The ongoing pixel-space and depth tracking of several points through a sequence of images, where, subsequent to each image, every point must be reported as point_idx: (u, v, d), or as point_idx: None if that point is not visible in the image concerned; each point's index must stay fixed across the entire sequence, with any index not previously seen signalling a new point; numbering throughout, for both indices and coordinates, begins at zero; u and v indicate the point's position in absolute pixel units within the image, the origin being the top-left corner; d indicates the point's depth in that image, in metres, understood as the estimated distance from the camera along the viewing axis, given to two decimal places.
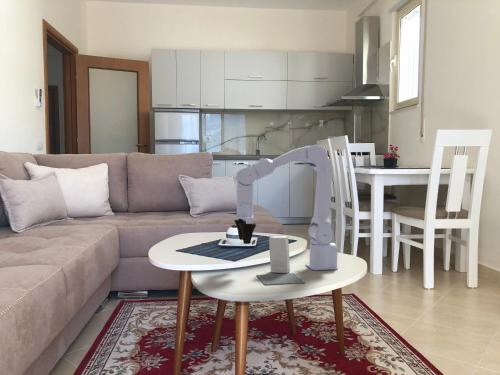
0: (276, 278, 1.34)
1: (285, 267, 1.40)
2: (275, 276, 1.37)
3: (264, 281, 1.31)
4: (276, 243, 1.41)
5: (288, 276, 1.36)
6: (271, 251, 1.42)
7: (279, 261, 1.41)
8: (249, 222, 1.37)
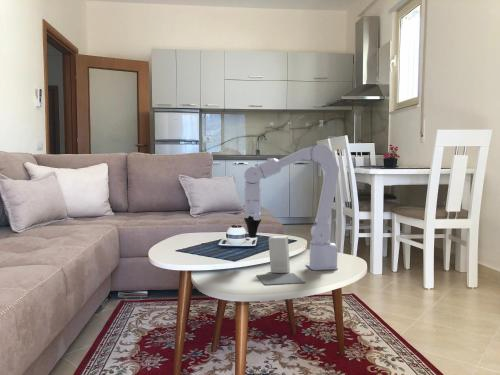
0: (276, 278, 1.34)
1: (285, 267, 1.40)
2: (275, 276, 1.37)
3: (264, 281, 1.31)
4: (276, 243, 1.41)
5: (288, 276, 1.36)
6: (271, 251, 1.42)
7: (279, 261, 1.41)
8: (257, 218, 1.44)
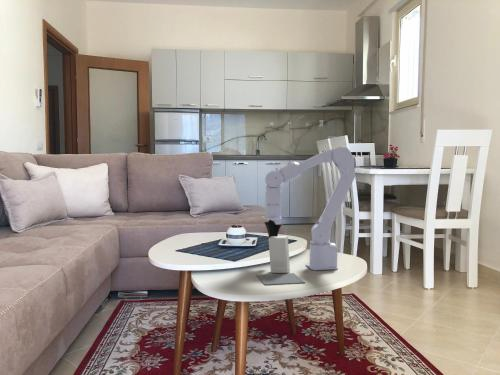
0: (276, 278, 1.34)
1: (285, 267, 1.40)
2: (275, 276, 1.37)
3: (264, 281, 1.31)
4: (276, 243, 1.41)
5: (288, 276, 1.36)
6: (271, 251, 1.42)
7: (279, 261, 1.41)
8: (279, 222, 1.45)
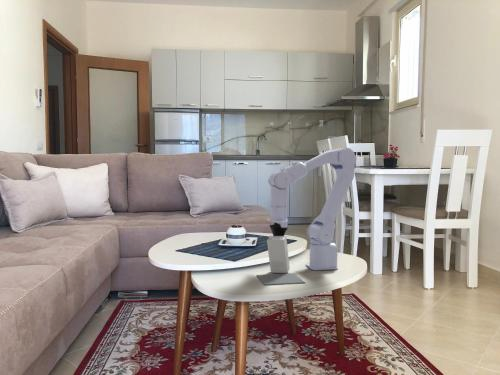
0: (276, 278, 1.34)
1: (285, 267, 1.40)
2: (275, 276, 1.37)
3: (264, 281, 1.31)
4: (274, 245, 1.39)
5: (288, 276, 1.36)
6: (270, 252, 1.40)
7: (279, 262, 1.40)
8: (285, 225, 1.38)
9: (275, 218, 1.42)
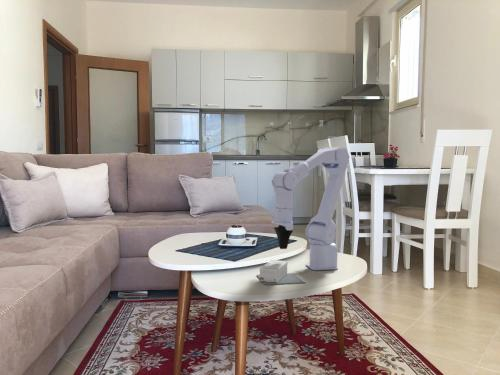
0: None
1: None
2: None
3: (264, 281, 1.31)
4: None
5: (288, 276, 1.36)
6: None
7: None
8: (290, 228, 1.32)
9: (280, 220, 1.36)
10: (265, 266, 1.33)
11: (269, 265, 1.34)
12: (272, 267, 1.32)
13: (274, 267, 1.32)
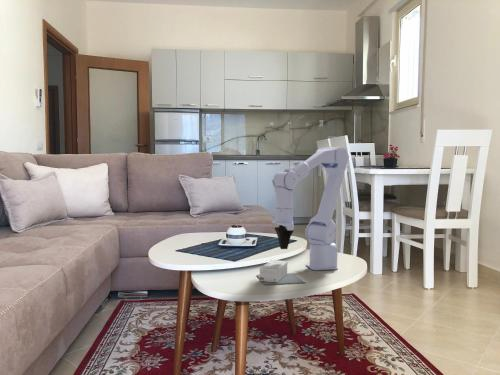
0: None
1: None
2: None
3: (264, 281, 1.31)
4: None
5: (288, 276, 1.36)
6: None
7: None
8: (291, 228, 1.31)
9: (280, 220, 1.36)
10: (265, 266, 1.33)
11: (269, 265, 1.34)
12: (272, 267, 1.32)
13: (274, 267, 1.32)
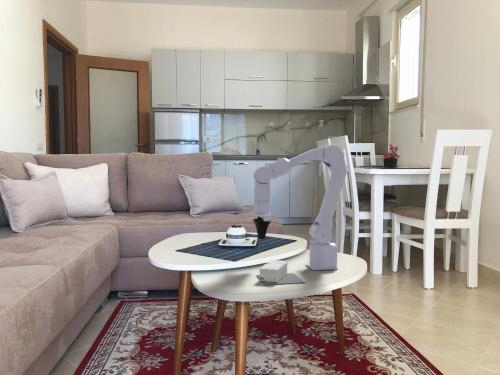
0: None
1: None
2: None
3: (264, 281, 1.31)
4: None
5: (288, 276, 1.36)
6: None
7: None
8: (267, 219, 1.41)
9: (258, 212, 1.45)
10: (265, 266, 1.33)
11: (269, 265, 1.34)
12: (272, 267, 1.32)
13: (274, 267, 1.32)
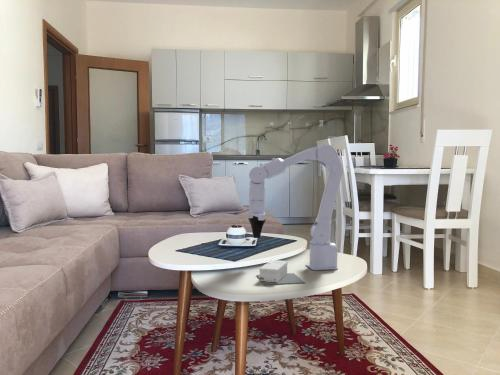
0: None
1: None
2: None
3: (264, 281, 1.31)
4: None
5: (288, 276, 1.36)
6: None
7: None
8: (262, 218, 1.44)
9: (253, 211, 1.48)
10: (265, 266, 1.33)
11: (269, 265, 1.34)
12: (272, 267, 1.32)
13: (274, 267, 1.32)
